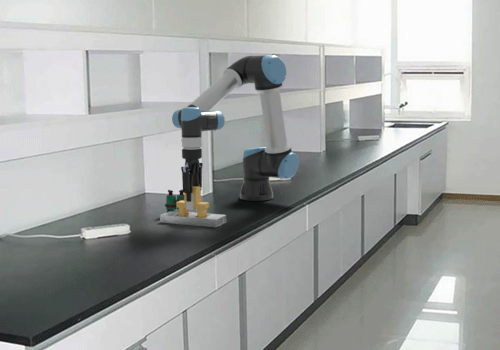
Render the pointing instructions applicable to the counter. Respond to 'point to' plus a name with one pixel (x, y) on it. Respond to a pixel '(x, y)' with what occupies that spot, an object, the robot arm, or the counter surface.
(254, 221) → the counter surface
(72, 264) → the counter surface
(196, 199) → the yellow stepped block
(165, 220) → the grey board with holes
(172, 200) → the binoculars
